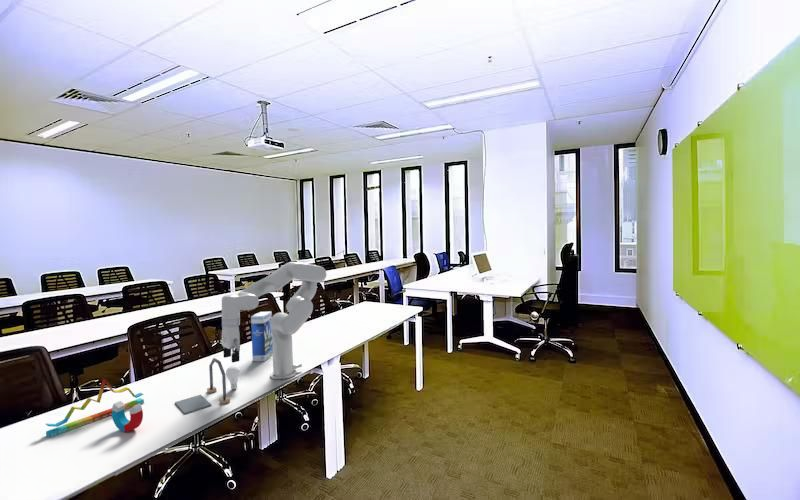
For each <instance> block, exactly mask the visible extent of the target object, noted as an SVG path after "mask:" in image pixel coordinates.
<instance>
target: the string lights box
mask: <svg viewBox="0 0 800 500" xmlns="http://www.w3.org/2000/svg"><path fill="white" fill-rule="evenodd" d="M272 317H273V313H272V311H259V312H257V313H254V314H253V315H251V316H250V323H251V324H250V325H251V349H252V350H251V351H252V362H266V361H267V360H268V359H270V357H273V346H272V345H273V344H272V333H271V328H270V321H271V318H272Z"/></svg>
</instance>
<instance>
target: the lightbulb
mask: <svg viewBox="0 0 800 500" xmlns="http://www.w3.org/2000/svg"><path fill="white" fill-rule="evenodd" d="M241 373H242V370H241V368H240V366H238V365H235V364H234V365H231V366H229V367H227V369H226V371H225V377H226V378H227V379H228V380H229V383H230V390H237V388H238V380H239V378H240V376H241Z"/></svg>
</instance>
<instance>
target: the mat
mask: <svg viewBox="0 0 800 500" xmlns="http://www.w3.org/2000/svg"><path fill="white" fill-rule="evenodd" d="M174 404H175V406H177V408H179V410H180V411H181V412H182V413H183V414H184V415H187V414H190V413H194V412H196V411H197V412H198V411H199V410H203V409H206V408H209V407H212V403H211V402H210V401H209V400H207V399H206V398H205V397H204V396H203V395H202V394H198V395H195V396H192V397H191V396H190V397H188V398H185V399H181V400H177V401H175V402H174Z"/></svg>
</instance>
